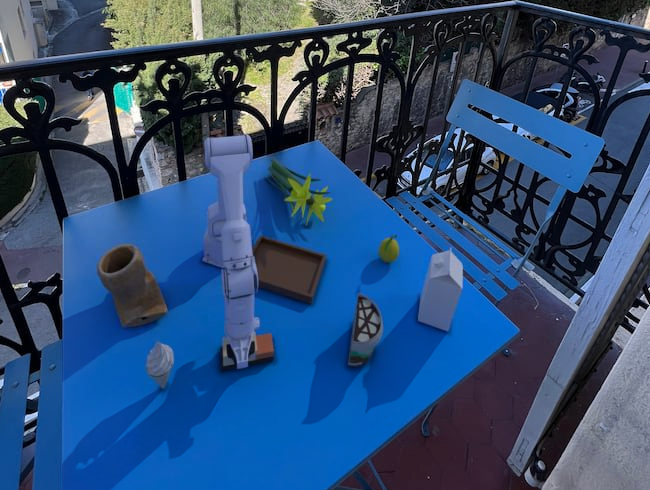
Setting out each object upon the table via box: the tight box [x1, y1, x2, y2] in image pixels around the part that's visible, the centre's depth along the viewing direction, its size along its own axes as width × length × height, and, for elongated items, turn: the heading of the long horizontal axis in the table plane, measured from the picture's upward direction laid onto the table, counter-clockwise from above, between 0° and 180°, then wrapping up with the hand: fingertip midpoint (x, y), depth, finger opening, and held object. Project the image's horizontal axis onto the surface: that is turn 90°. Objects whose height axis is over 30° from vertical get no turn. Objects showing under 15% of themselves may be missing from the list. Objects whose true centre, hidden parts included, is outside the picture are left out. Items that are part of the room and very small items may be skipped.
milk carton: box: [417, 247, 464, 332], centre depth 95 cm, size 7×7×19 cm
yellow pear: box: [378, 232, 400, 263], centre depth 110 cm, size 7×6×10 cm
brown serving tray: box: [252, 234, 327, 305], centre depth 107 cm, size 20×14×2 cm
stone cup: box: [96, 243, 168, 328], centre depth 92 cm, size 15×12×15 cm
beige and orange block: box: [219, 331, 275, 372], centre depth 86 cm, size 11×4×4 cm, turn 103°
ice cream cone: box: [145, 340, 175, 390], centre depth 77 cm, size 5×5×15 cm
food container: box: [347, 292, 384, 368], centre depth 88 cm, size 12×6×10 cm, turn 168°
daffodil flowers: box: [264, 158, 333, 227], centre depth 127 cm, size 17×15×35 cm
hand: (239, 352), depth 86 cm, fingers closed on beige and orange block, 4 cm apart
